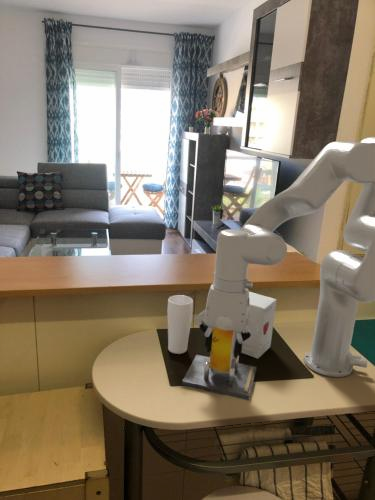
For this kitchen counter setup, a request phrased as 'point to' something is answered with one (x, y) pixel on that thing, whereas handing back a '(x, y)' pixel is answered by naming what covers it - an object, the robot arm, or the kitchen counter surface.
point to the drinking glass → (179, 322)
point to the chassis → (220, 378)
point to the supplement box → (260, 324)
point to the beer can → (223, 345)
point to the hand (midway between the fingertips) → (223, 351)
